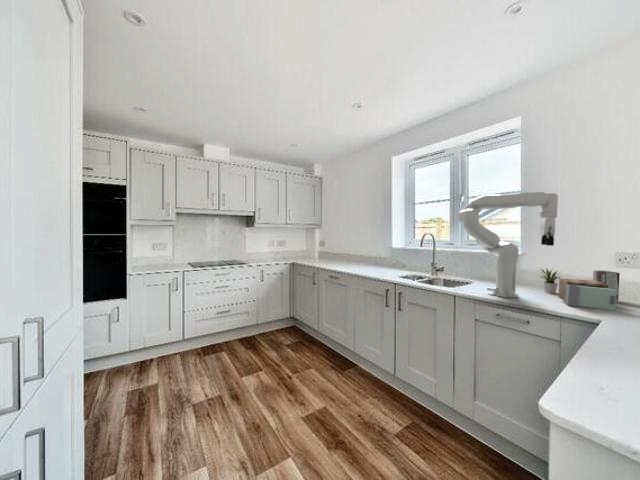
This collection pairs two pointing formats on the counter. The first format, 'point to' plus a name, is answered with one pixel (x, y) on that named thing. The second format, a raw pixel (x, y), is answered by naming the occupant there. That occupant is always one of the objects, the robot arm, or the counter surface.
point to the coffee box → (608, 279)
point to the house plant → (549, 281)
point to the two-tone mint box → (591, 297)
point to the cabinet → (579, 283)
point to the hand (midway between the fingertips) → (547, 245)
